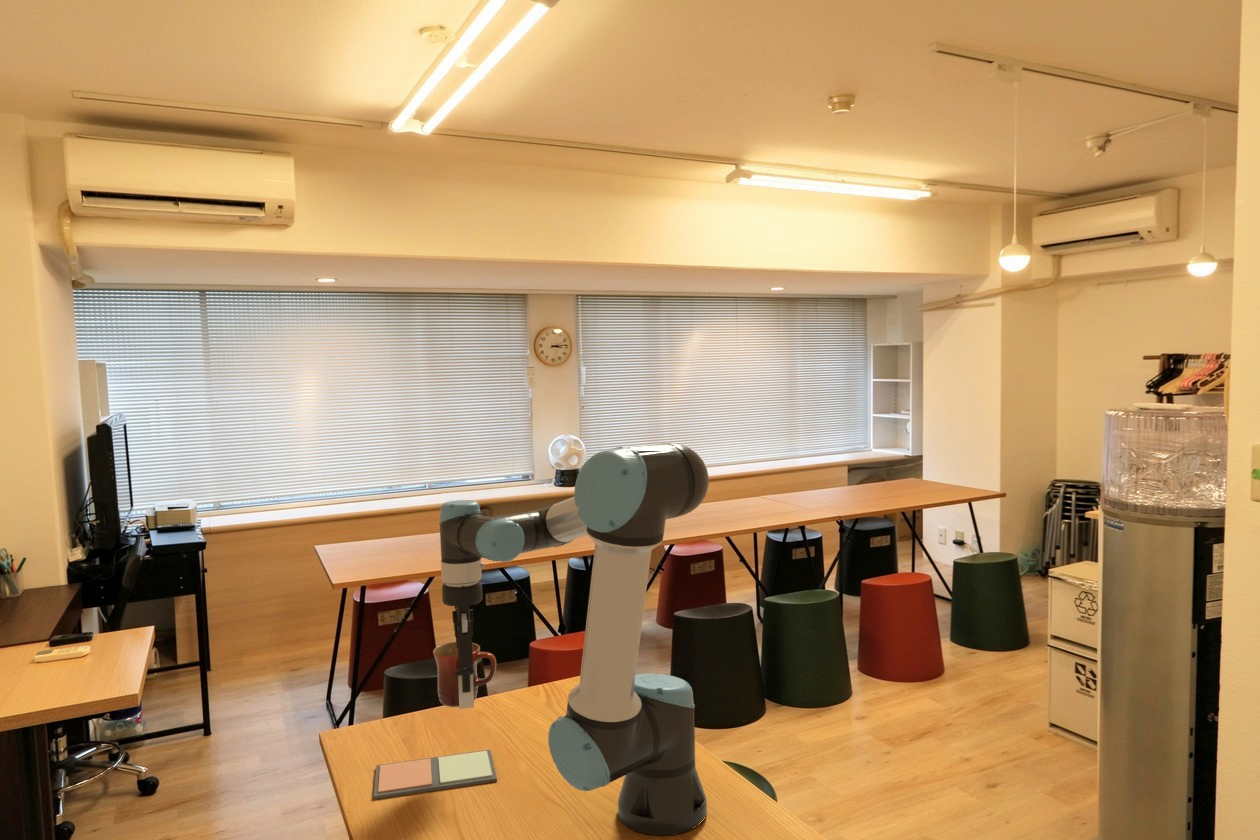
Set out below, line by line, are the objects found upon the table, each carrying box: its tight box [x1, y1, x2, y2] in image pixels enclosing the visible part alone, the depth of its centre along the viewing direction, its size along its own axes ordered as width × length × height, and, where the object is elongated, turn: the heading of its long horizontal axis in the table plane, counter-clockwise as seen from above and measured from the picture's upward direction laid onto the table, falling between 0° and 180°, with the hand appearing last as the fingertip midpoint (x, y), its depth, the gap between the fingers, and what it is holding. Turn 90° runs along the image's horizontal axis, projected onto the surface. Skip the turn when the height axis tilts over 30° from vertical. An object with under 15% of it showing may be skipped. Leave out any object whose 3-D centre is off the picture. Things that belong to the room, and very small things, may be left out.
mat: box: [373, 749, 498, 800], centre depth 160 cm, size 13×22×1 cm, turn 105°
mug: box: [432, 641, 497, 708], centre depth 161 cm, size 12×9×10 cm
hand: (465, 699), depth 162 cm, fingers closed on mug, 7 cm apart
